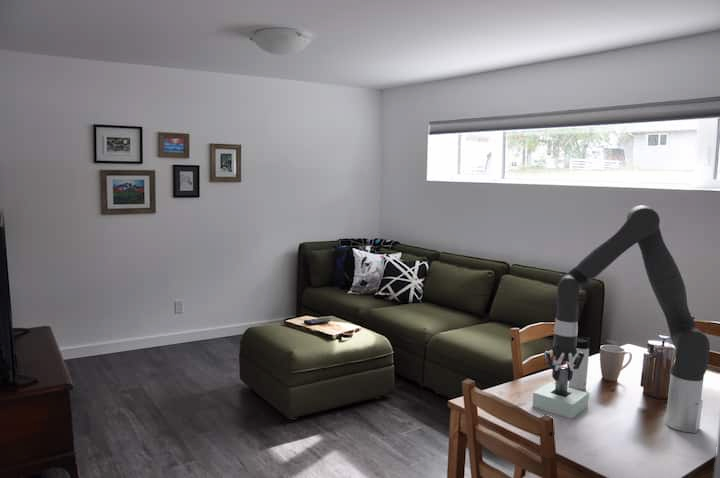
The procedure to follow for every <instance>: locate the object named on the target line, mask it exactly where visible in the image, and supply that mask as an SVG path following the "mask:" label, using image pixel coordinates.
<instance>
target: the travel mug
mask: <svg viewBox="0 0 720 478" xmlns="http://www.w3.org/2000/svg"><path fill="white" fill-rule="evenodd" d="M591 340H592V339H591V338H590V337H586V336H585V337H584V336H577V344H576V350H577V351H578V352H579V351H581V352H582V353H583V354H584V357H583V359H582V362H581V364H580V366H579V369H574V370H573V376H572V379H571V381H568V387H569V388H573V389H576V390H580V391H583V392H586V389H587V382H588V381H587V379H588V367H589V354H590V341H591ZM575 358H576V354H575V356H574V357H573V358H572V360H573V363H574V360H575Z"/></svg>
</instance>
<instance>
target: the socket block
mask: <svg viewBox="0 0 720 478" xmlns="http://www.w3.org/2000/svg"><path fill="white" fill-rule="evenodd" d="M555 384H556V382H555V383H554V382H552V381H550V382H548V383H546V384H545V385H543V386H542V387H539V388H538V389H536V390H535V391H534V392H532V394H533V395H532V407H534V408H536V409H540V410H543V411H546V412H549V413H552V414H555V415H559V416H562V417H565V418H568V419H571V420H573V419H574V418H575V417H576V416H577V415H579V414H580V413H581V412H583V411H584V410H585V409H587V408H588V404H589V392H586V391H580V390H576V389H573V388H569V387H567V397H563V396H559V395H556V394H555Z"/></svg>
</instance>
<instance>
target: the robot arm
mask: <svg viewBox="0 0 720 478" xmlns="http://www.w3.org/2000/svg"><path fill="white" fill-rule="evenodd" d="M660 224H661V219H660V216H659V214H658V213H657V211H656V210H655V209H654V208H652V207H650V206H649V205H648V206H647V205H643V204H642V205H636V206H634V207H632V208H631V209H630V210H629V212H628V213H627V215H626V221H625V222H624V224H622V226H621V227H620V229H619V230H617V231H616V233H614V235H612V236H611V237H610V238H608V239H607V240H606V241H604V242H603V243H602V244H600V245H599V246H597V247H596V248H594V250H592V251H590V253H589V254H587V255H586V256H585V257H583V259H582V260H581V261H579V263H578V264H577V265H576V266H575V267H574V268H572V269H571V270H569V271H568V272H567V273H566V274H565V275H563V277H562V278H560V280H559V282H558V285H557V293H556V295H557V296H556V297H557V306H556V315H555V322H554V329H553V331H554V332H553V342H552V344H553V346H552V348H551V350H544V351H543V354H544V358H545V362H546V365H547V367H548V368H549V369H551V370H552V372H551V373H552V374H551V378H552V379H553V380H554V381H555V382H556V381H558V372H559V371H558V368H559V366H562V362H565V363H566V367H567V368H569V375H568V382H569V381H571V379H572V376H573V370H574V369H579V366H580V364H581V362H582V359H583V357H584V354H583V353H582V352H581V351H579V352H578V351H577V350H576V344H577V337H578V332H579V330H578V329H579V325H578V323H579V322H578V321H579V306H578V305H579V297H580V291H581V289H582V288H584V287H585V286H586V285H587V284H588V283H589V282H590V281H591V280H594V279H595V278H597V277H598V276H599V275H600V274H601V273H602V272H603V271H605V270H606V269H607V268H608V267H609V266H611V265H612V263H614V262H615V260H617V259H618V258H619V257H620V256H621V255H623V254H624V253H625V252H626V251H627V250H629V249H631V248H632V246H634V245H636V244H638V246H639V249H640V253H641V256H642V260H643V264H644V268H645V272H646V276H647V279H648V282H649V284H650V287H651V289H652V291H653V294H654V296H655V298H656V300H657V303H658V304H659V306H660V308H661V311H662V312H663V314H664V315H663V316H664V317H665V320H666V323H667V327H668V331H669V334H670V339H671V342H672V344H673V347H674V348H675V349H676V352H675V353H676V354H675V360H674V363H673V364H672V365H671V367H670V377H669V385H668V386H669V387H668V395H667V397H668V398H667V407H666V416H665V424H666V425H667V426H668V427H669V428H671V429H673V430H676V431H679V432H683V433H691V434H697V432H698V431H699V429H701V428H700V426H701V417H702V409H703V399H702V396H703V395H702V394H703V387H704V386H703V385H704V377H705V374H706V372H707V371H708V370H707V369H708V364H709V359H710V358H709V357H710V349H711V348H710V347H711V345H710V340H709V338H708V337H707V335H706V334H705V333H703V332H702V331H701V330H700V329H699V328H698V326H697V324H696V323H695V321H694V318H693V317H692V314H691V312H690V310H689V306H688V298H687V297H688V296H687V290H686V284H685V282H684V279H683V277H682V274H681V272H680V270H679V267H678V265H677V263H676V261H675V260H674V257H673V255H672V254H671V252H670V250H669V248H668V247H667V245H666V243H665V241H664V239H663V236H662V232H661V227H660ZM575 354H576V358H575V360H574V363H573V360H572V358H573V357H574V356H575ZM553 356H554V358H553ZM552 358H553V361H552Z"/></svg>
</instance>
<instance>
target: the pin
mask: <svg viewBox="0 0 720 478" xmlns="http://www.w3.org/2000/svg"><path fill="white" fill-rule="evenodd" d="M558 371H559V372H558V381H555V394H556V395H559V396H563V397H567V387H568V384H569V381H568V375H569V368H568V367H567V366H562V365H560V366H559V368H558Z"/></svg>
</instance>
